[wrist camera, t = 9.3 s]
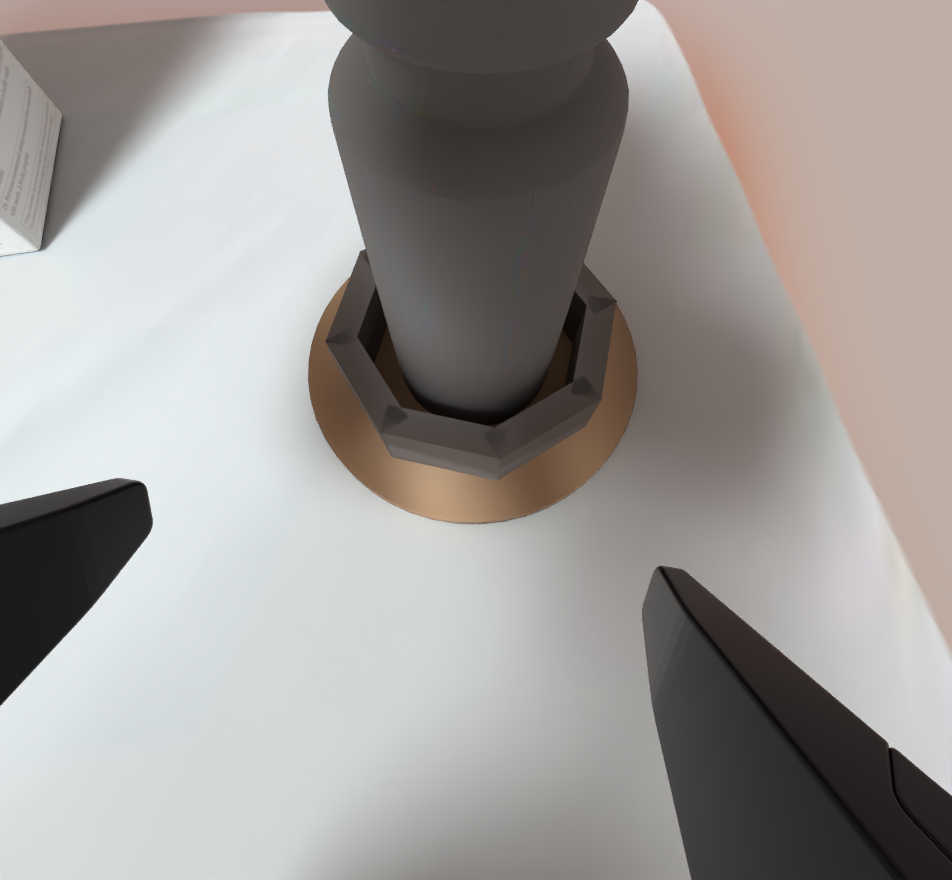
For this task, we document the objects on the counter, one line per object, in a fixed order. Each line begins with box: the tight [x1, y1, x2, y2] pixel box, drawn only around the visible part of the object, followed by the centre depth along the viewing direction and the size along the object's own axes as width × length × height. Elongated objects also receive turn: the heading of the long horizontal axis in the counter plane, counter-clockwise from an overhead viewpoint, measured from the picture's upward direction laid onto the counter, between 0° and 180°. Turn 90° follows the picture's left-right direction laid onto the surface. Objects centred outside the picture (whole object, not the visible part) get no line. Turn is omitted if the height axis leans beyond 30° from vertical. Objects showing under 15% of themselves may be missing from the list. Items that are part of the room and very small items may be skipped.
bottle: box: [325, 0, 638, 425], centre depth 12 cm, size 6×6×15 cm
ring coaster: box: [308, 249, 637, 524], centre depth 18 cm, size 13×13×3 cm
